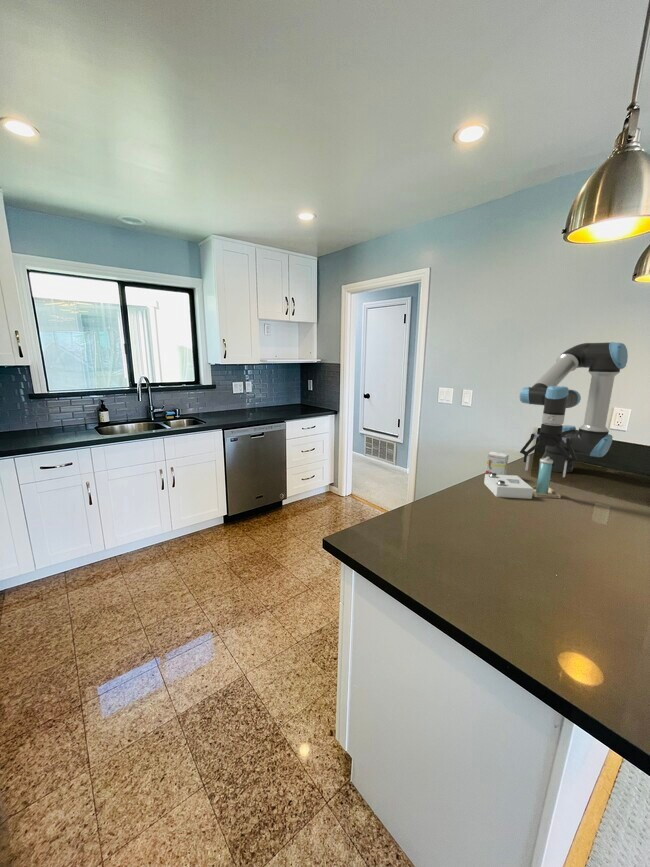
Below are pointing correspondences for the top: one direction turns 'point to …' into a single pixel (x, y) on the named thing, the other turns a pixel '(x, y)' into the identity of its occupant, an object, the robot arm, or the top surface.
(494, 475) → the plunger
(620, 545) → the top surface
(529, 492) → the housing
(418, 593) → the top surface
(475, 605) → the top surface
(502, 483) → the plunger
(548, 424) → the robot arm
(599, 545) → the top surface
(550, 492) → the tray
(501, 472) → the ink box
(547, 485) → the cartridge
